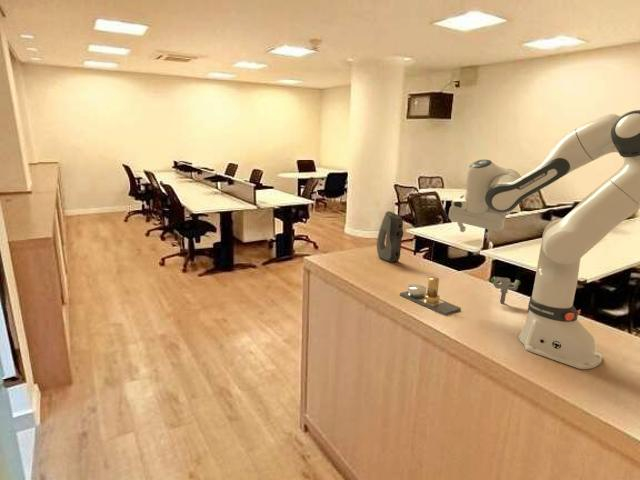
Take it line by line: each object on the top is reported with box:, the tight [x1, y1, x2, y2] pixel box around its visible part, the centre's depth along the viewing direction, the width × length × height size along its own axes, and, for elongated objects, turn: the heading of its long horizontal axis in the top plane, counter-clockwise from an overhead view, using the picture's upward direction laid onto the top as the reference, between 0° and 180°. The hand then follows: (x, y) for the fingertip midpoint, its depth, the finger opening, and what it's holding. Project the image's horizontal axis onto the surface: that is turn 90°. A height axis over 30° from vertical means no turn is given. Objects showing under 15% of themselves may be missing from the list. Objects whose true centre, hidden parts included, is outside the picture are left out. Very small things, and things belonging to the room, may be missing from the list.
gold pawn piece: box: [424, 276, 440, 304], centre depth 156 cm, size 6×6×9 cm
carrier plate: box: [399, 283, 462, 316], centre depth 158 cm, size 22×9×4 cm, turn 36°
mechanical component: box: [490, 276, 521, 305], centre depth 160 cm, size 3×10×10 cm, turn 79°
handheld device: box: [376, 210, 404, 264], centre depth 211 cm, size 6×15×25 cm, turn 36°
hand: (474, 234), depth 158 cm, fingers open, 8 cm apart
